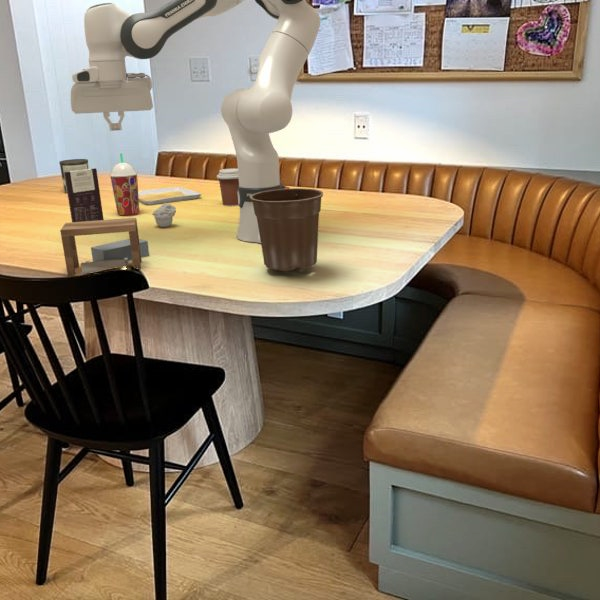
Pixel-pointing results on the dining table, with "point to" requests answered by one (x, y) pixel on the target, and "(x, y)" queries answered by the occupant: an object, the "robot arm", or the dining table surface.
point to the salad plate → (188, 193)
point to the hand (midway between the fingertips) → (115, 130)
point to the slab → (117, 250)
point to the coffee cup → (229, 186)
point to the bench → (99, 228)
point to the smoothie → (125, 188)
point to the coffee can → (72, 167)
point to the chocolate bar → (84, 195)
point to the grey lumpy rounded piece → (164, 215)
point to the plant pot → (288, 226)
